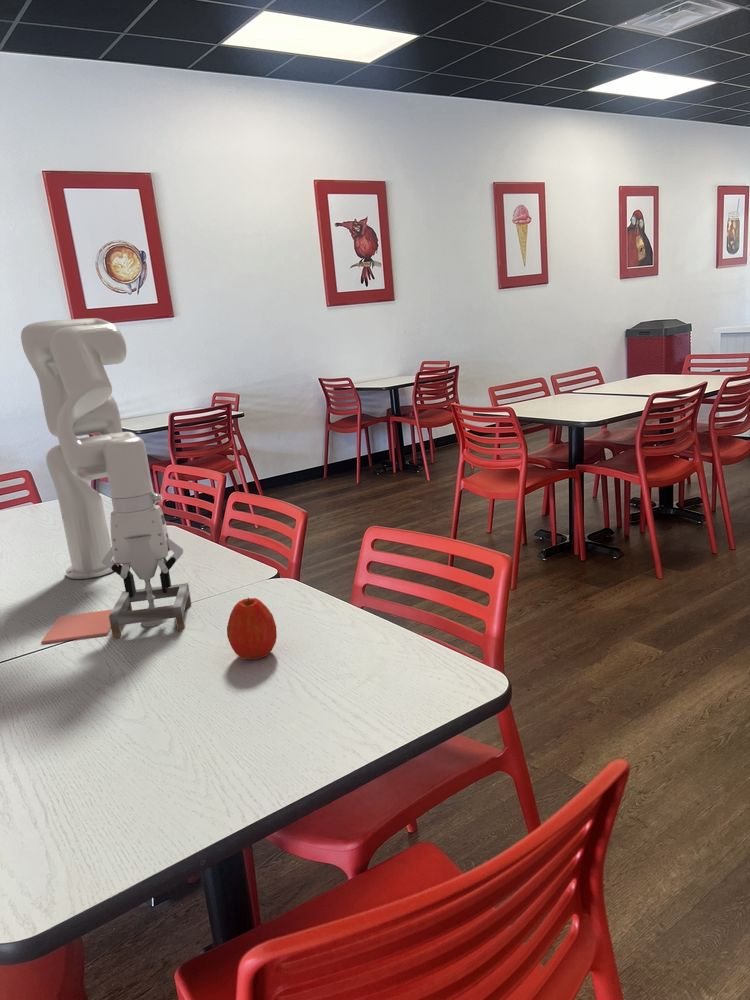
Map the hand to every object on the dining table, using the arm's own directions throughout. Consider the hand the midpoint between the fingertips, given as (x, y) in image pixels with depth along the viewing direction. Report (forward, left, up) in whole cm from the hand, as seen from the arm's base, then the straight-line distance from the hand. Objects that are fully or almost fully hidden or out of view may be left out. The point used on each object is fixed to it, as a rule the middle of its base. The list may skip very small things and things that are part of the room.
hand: (149, 592), depth 138 cm
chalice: (0, 0, -6) cm, 6 cm away
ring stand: (0, 0, -6) cm, 6 cm away
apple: (+22, +20, -6) cm, 30 cm away
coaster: (-2, -14, -6) cm, 15 cm away
